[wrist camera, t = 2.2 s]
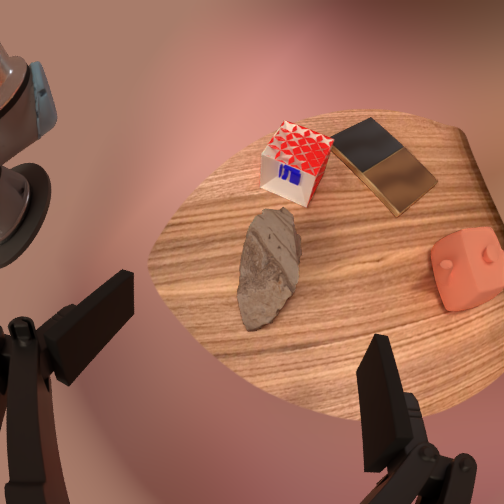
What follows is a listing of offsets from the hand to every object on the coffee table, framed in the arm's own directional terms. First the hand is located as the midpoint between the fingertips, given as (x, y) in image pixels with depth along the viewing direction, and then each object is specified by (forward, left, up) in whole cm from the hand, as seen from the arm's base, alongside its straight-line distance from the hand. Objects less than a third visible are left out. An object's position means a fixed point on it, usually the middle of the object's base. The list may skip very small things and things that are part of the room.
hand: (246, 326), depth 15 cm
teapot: (+25, +22, -24) cm, 41 cm away
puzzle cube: (-5, +27, -24) cm, 37 cm away
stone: (-2, +11, -24) cm, 26 cm away
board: (+8, +38, -24) cm, 46 cm away
